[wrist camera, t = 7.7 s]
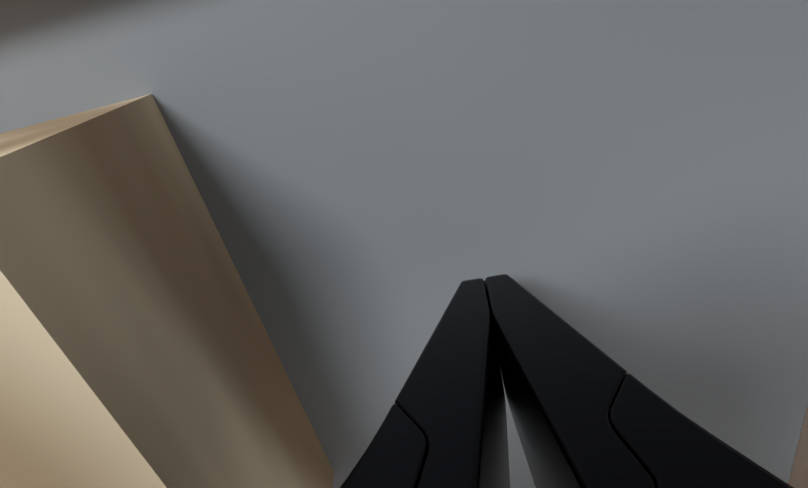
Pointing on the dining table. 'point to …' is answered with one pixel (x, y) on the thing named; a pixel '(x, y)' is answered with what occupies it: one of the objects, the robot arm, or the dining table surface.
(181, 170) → the t block
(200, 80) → the board
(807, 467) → the dining table surface
